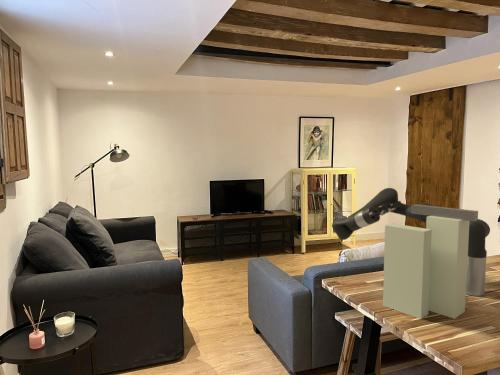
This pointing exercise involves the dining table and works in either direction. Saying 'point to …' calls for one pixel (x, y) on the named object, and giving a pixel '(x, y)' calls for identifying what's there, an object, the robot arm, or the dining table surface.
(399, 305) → the block
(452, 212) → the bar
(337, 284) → the dining table surface
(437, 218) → the stand
